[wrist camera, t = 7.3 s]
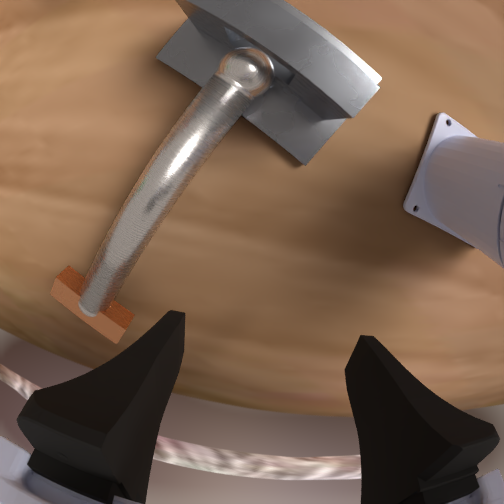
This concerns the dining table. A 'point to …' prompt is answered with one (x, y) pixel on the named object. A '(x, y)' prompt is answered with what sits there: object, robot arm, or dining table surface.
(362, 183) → the dining table surface
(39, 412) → the robot arm
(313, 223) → the dining table surface
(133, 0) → the dining table surface
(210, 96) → the metal rod with plate
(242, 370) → the dining table surface
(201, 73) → the grey hammer
